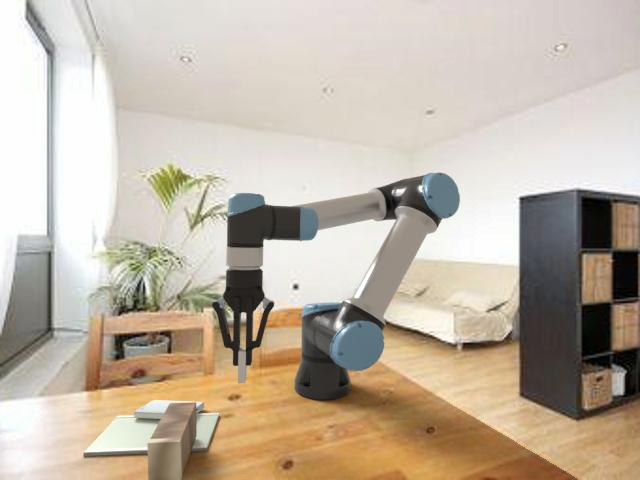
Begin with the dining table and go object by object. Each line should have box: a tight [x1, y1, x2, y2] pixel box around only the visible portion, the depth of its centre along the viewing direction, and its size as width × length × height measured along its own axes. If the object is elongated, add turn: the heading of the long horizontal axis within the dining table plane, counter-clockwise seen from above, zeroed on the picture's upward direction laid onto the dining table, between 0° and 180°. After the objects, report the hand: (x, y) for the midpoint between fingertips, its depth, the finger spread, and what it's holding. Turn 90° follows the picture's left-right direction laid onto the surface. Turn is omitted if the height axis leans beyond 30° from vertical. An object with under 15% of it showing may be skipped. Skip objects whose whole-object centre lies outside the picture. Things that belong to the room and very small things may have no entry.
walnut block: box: [147, 401, 197, 480], centre depth 67 cm, size 5×7×12 cm
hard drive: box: [133, 399, 205, 419], centre depth 84 cm, size 2×8×12 cm
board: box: [83, 412, 220, 457], centre depth 76 cm, size 22×14×1 cm, turn 96°
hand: (242, 380), depth 78 cm, fingers closed
